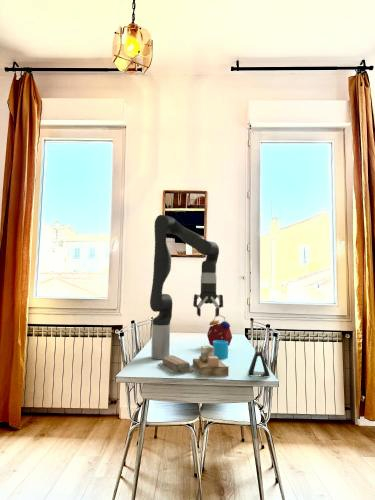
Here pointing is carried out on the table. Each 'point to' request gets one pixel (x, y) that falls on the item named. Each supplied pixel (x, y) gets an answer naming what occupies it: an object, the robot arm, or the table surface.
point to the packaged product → (175, 365)
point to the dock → (210, 368)
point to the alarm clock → (219, 331)
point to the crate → (213, 361)
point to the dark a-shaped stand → (251, 369)
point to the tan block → (206, 353)
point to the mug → (220, 349)
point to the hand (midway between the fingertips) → (208, 316)
